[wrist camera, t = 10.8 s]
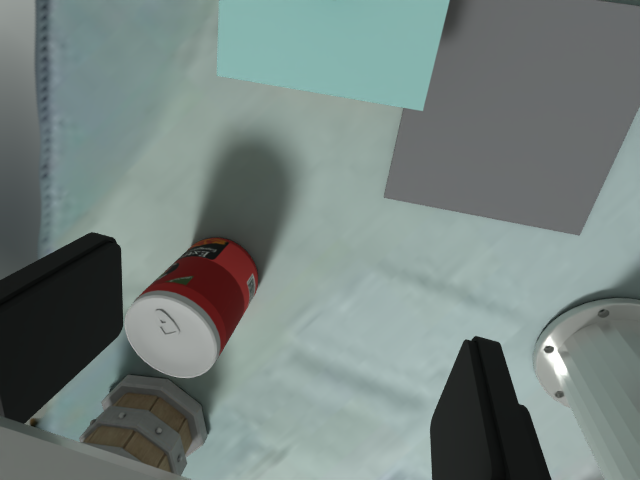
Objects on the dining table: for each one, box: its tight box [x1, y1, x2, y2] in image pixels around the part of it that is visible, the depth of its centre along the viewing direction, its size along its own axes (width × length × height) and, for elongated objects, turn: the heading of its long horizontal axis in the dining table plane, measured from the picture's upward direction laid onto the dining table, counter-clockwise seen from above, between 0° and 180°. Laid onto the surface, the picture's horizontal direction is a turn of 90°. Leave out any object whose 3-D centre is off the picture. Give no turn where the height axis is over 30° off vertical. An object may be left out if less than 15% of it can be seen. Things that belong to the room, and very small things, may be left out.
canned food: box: [125, 238, 258, 378], centre depth 37 cm, size 8×8×11 cm
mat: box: [384, 0, 640, 235], centre depth 31 cm, size 16×16×1 cm
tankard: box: [79, 375, 207, 476], centre depth 48 cm, size 20×13×15 cm, turn 137°
